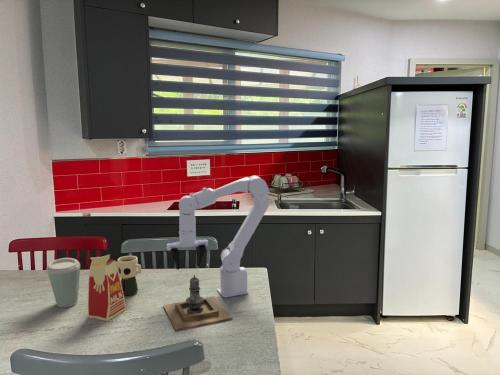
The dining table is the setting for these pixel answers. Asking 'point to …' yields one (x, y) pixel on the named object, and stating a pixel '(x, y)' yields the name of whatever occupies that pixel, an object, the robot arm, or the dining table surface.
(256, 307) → the dining table surface
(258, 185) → the robot arm
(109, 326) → the dining table surface
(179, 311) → the walnut holder
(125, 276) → the character mug
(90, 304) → the milk carton
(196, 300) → the salt shaker
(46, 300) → the dining table surface
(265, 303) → the dining table surface
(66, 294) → the disposable coffee cup
